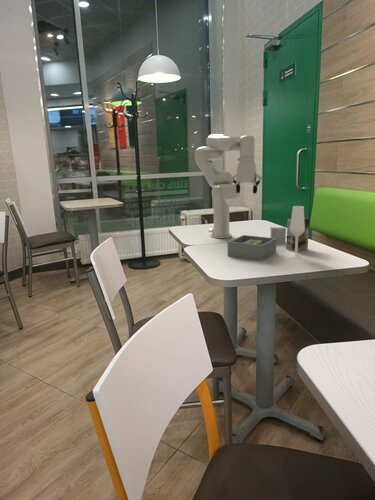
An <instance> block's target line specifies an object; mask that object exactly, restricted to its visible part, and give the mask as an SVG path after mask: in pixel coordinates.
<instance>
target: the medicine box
mask: <svg viewBox="0 0 375 500" xmlns="http://www.w3.org/2000/svg"><path fill="white" fill-rule="evenodd" d="M269 235H270V237H269V238H277V241H276V244H286V240H287V229H286V226H271V227H270V234H269Z"/></svg>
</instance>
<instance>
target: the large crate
mask: <svg viewBox="0 0 375 500" xmlns="http://www.w3.org/2000/svg"><path fill="white" fill-rule="evenodd" d="M249 240H260V241H262V245H255V244H247V243H244V242H246V241H249ZM276 241H277V238H270V237H267V236H259V235H258V236H257V235H248V234H247V235H246V234H244V235H240V236H239V237H236V238H234V239H231V240H228V241H227V257H232V258H238V259H247V260H253V261H260V262H263V261H264V260H266V259H268V258H269V257H272V256H273V255H275V254H277V243H276Z"/></svg>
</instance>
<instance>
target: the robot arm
mask: <svg viewBox="0 0 375 500" xmlns="http://www.w3.org/2000/svg"><path fill="white" fill-rule="evenodd" d="M205 142H206V145H207V146H200V147H198V148H196V150H195V151H194V160H195V164H196V166H197V167H198V169H200V171H201V172H202V174H203V176H204V178H205V181H207V183H208V185H209V186H210V187H211V188H212V190H211V198H212V202H213V228H209V229H208V233H211V234H210V235H211V237H212V238H214V239H227V238H228V239H230V238H231V237H233V236H232V235H233V234H232V233H230V206H229V204H228V203H227V201H231V200H237V199H238V198H239V197H240V196H241V183H252V184H253V186H252V194H254V195H255V194H257V192H258V186H259V184H261V182H262V180H263V176H260V175H259V174H258V172H257V165H256V162H255V142H256V139H255V136H254V135H242V136H241V135H240V136H239V135H233V136H231V135H228V134H226V133H212V134H209V135H208V136H207V137H206V141H205ZM226 152H239V157H238V158H237V161H238V163H237V167H236V174H235V175H233V174H232V173H231V172H229V171H225V170H223V171H222V170H221V171H219V170H218V169H217V168H216V166H215V165H214V164H213V163H212V162H211V161H219V160H221V159H222V158H223V157H224V155H225V153H226Z"/></svg>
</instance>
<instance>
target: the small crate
mask: <svg viewBox="0 0 375 500" xmlns="http://www.w3.org/2000/svg"><path fill="white" fill-rule="evenodd" d="M244 243H247V244H255V245H262V241H260V240H249V241H246V242H244Z"/></svg>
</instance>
